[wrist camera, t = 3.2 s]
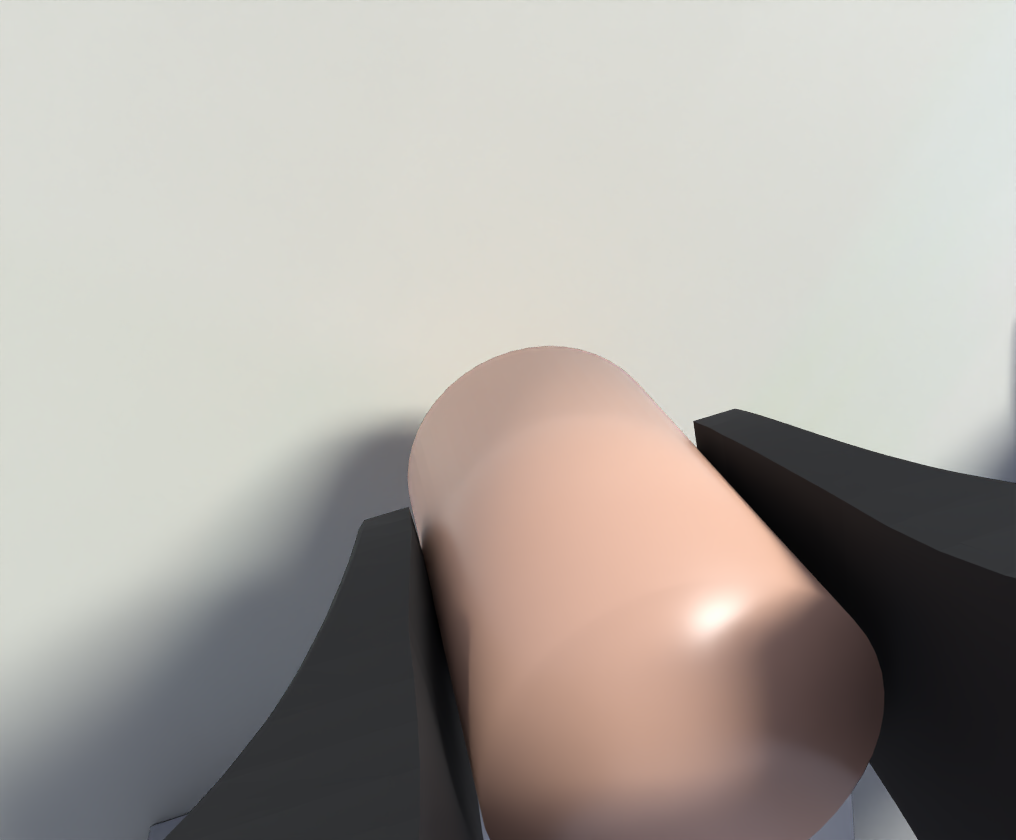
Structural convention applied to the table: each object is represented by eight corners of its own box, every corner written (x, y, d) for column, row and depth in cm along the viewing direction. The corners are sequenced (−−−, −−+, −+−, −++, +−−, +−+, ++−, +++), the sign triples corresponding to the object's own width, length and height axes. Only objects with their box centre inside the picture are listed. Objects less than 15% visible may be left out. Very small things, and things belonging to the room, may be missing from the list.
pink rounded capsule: (641, 313, 13) (877, 521, 8) (677, 538, 15) (889, 832, 10) (375, 390, 13) (429, 662, 7) (444, 610, 15) (528, 960, 9)
